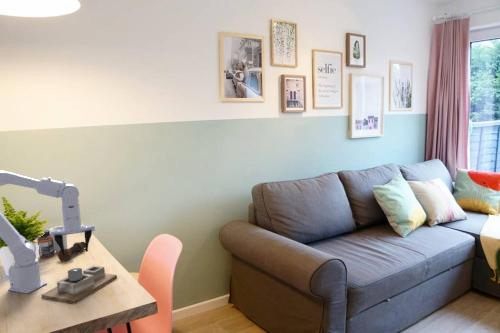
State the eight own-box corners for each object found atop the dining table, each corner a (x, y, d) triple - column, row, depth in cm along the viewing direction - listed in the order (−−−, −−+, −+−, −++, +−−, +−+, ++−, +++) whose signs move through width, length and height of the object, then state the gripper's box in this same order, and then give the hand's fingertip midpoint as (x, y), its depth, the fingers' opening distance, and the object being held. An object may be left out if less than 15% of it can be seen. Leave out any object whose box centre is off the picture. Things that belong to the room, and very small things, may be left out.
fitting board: (41, 297, 124) (40, 286, 123) (86, 273, 142) (86, 263, 142) (74, 303, 119) (73, 291, 119) (116, 277, 138) (116, 267, 137)
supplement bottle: (43, 254, 165) (40, 229, 163) (57, 253, 165) (54, 228, 164) (36, 259, 159) (33, 233, 157) (51, 258, 159) (48, 232, 158)
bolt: (86, 252, 170) (65, 264, 156) (76, 247, 171) (55, 258, 156) (91, 241, 169) (71, 252, 155) (81, 236, 170) (60, 246, 155)
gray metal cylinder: (66, 288, 127) (64, 272, 127) (77, 283, 131) (75, 267, 131) (75, 291, 126) (74, 273, 125) (86, 285, 130) (84, 268, 129)
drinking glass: (71, 248, 171) (69, 227, 169) (57, 253, 165) (55, 231, 164) (63, 246, 174) (61, 225, 173) (49, 250, 169) (46, 229, 167)
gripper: (48, 222, 130) (52, 259, 132) (93, 216, 136) (97, 252, 138) (49, 217, 136) (53, 253, 138) (92, 212, 142) (96, 246, 144)
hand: (75, 252), depth 138 cm, fingers open, 7 cm apart
